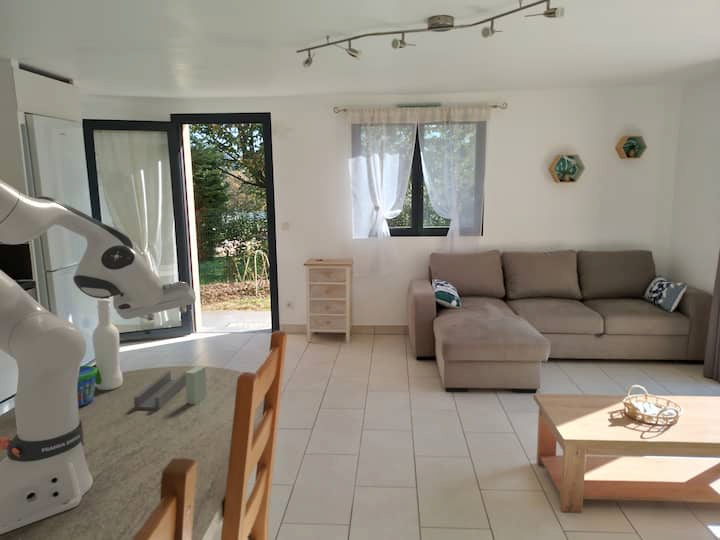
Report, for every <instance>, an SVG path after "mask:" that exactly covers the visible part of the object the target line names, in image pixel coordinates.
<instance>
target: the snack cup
mask: <svg viewBox="0 0 720 540" xmlns="http://www.w3.org/2000/svg"><path fill="white" fill-rule="evenodd" d="M101 382H102V378H101V374H100V371H99V370H98V368H97V367H96V366H91V365H80V370H79V377H78V385H77V395H78V407H81V406H85V405H88V404H90V403H91V402H93V401H94V398H95V389H96V384H101Z"/></svg>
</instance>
